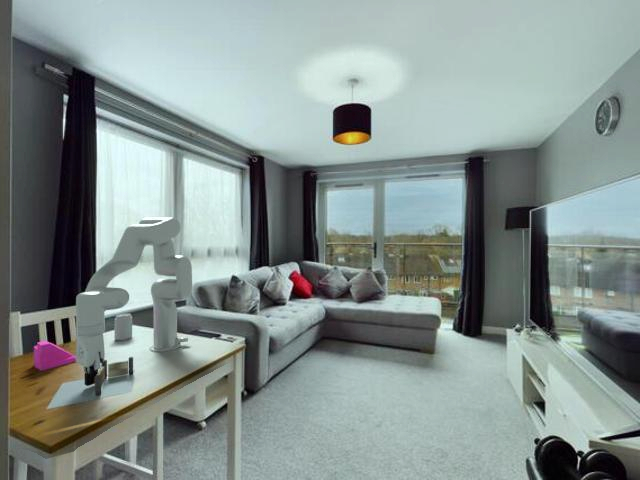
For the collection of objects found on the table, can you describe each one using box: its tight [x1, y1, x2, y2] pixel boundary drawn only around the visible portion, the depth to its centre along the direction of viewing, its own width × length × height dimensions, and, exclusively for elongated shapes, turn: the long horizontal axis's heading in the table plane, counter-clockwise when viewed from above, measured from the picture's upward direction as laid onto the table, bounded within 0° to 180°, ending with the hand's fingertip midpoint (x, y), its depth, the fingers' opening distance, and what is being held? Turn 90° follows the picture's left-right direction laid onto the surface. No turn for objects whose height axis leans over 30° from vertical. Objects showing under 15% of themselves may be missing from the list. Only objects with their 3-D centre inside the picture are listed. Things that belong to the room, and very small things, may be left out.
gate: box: [94, 366, 105, 393], centre depth 100 cm, size 10×1×5 cm, turn 25°
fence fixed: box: [96, 356, 134, 396], centre depth 102 cm, size 10×14×6 cm
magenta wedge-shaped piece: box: [33, 340, 77, 372], centre depth 120 cm, size 12×10×10 cm
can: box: [114, 313, 133, 341], centre depth 151 cm, size 8×8×12 cm
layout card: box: [46, 369, 135, 410], centre depth 100 cm, size 21×18×1 cm
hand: (91, 383), depth 100 cm, fingers closed
